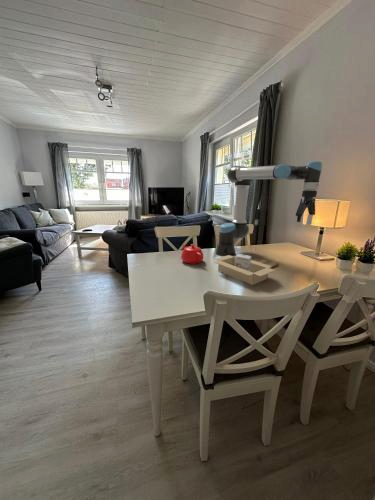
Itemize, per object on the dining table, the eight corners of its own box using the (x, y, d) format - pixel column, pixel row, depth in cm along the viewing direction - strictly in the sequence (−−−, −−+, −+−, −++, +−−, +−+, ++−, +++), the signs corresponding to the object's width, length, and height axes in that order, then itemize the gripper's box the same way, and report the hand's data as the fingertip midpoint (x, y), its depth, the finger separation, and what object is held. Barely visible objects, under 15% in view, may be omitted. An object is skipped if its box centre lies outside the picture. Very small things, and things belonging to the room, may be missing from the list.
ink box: (233, 274, 126) (235, 255, 123) (235, 271, 131) (237, 253, 127) (247, 277, 123) (250, 258, 119) (249, 274, 127) (251, 255, 123)
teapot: (211, 264, 142) (212, 247, 138) (191, 268, 134) (192, 250, 130) (191, 254, 162) (191, 239, 159) (173, 257, 154) (173, 241, 151)
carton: (208, 270, 132) (209, 260, 130) (232, 263, 145) (232, 253, 144) (254, 289, 108) (255, 278, 106) (277, 279, 121) (278, 268, 119)
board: (248, 263, 145) (248, 262, 144) (260, 260, 153) (260, 258, 153) (266, 270, 134) (267, 268, 134) (278, 265, 143) (278, 263, 142)
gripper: (306, 190, 113) (300, 229, 119) (325, 190, 128) (318, 225, 134) (293, 189, 119) (287, 227, 125) (312, 190, 134) (306, 223, 140)
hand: (303, 226), depth 130 cm, fingers open, 13 cm apart
